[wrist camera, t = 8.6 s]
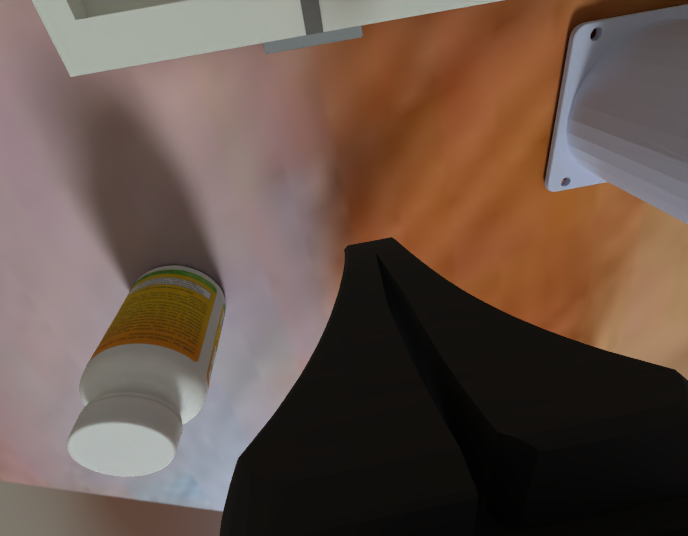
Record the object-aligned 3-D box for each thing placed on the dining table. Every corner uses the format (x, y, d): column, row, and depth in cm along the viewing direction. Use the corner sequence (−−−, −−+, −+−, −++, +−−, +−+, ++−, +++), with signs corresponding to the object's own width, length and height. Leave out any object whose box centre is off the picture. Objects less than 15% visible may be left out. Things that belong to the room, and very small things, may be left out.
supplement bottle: (114, 275, 21) (9, 430, 13) (204, 252, 21) (151, 395, 13) (161, 339, 25) (97, 497, 17) (240, 320, 24) (214, 469, 16)
